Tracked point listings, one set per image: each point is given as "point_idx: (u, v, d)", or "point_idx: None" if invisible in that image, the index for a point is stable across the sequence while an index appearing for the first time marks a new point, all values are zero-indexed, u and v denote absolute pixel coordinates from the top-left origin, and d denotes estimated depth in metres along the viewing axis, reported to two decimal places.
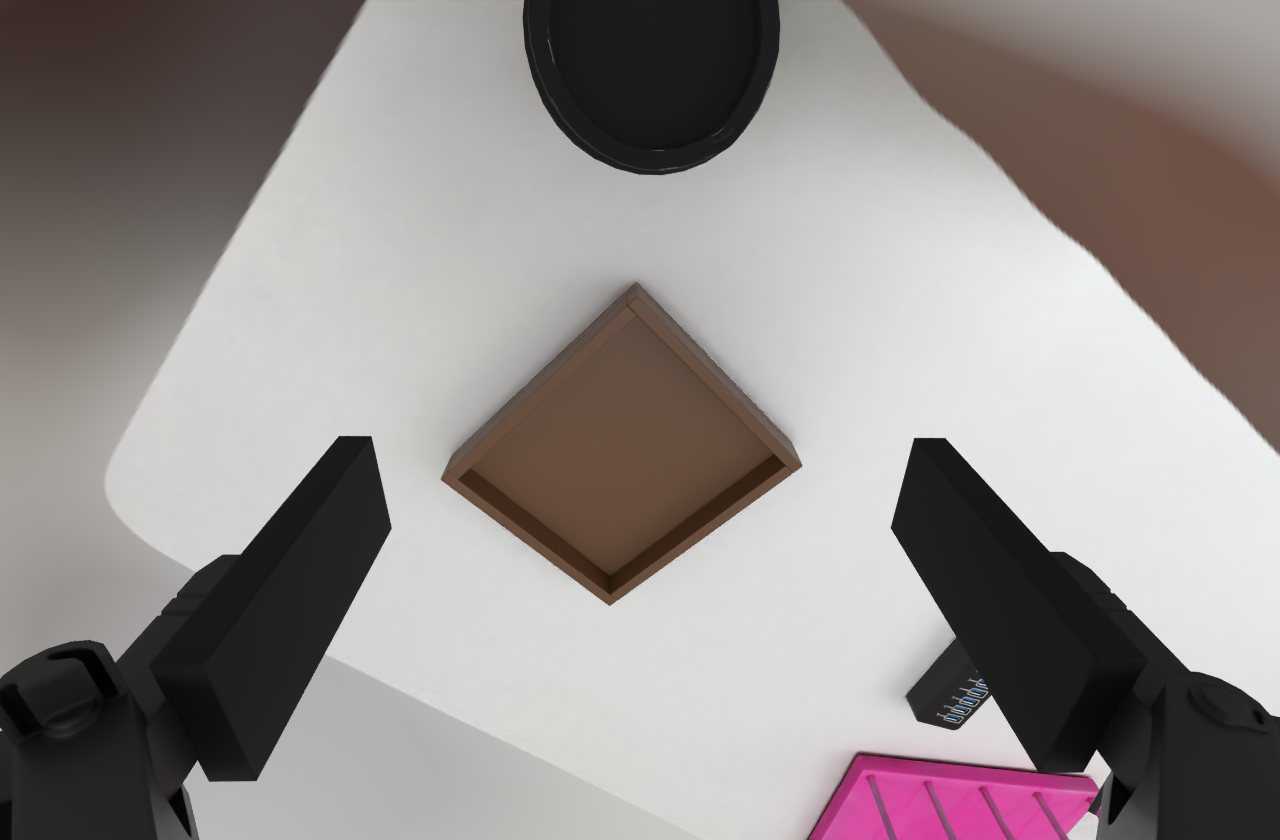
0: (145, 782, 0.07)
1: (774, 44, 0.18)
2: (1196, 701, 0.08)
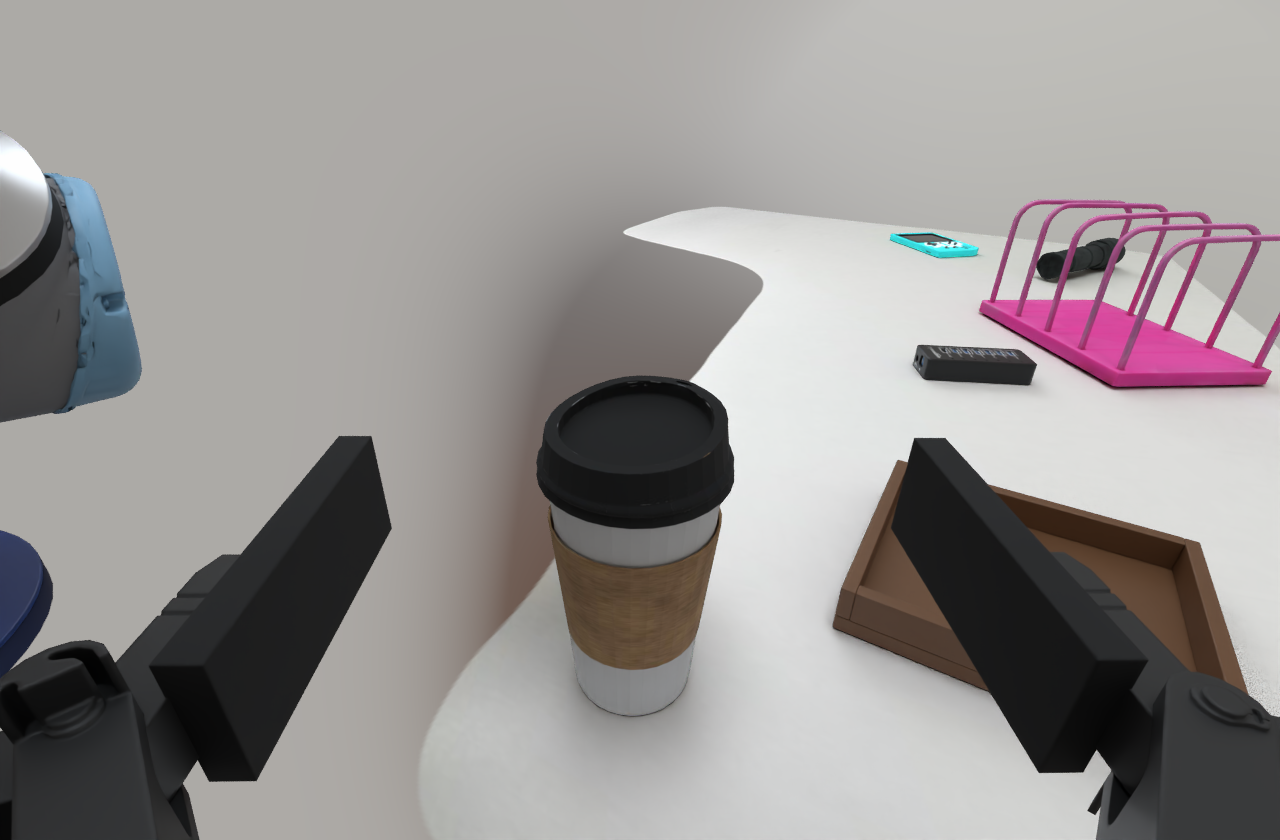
0: (145, 782, 0.07)
1: (622, 378, 0.28)
2: (1196, 702, 0.08)
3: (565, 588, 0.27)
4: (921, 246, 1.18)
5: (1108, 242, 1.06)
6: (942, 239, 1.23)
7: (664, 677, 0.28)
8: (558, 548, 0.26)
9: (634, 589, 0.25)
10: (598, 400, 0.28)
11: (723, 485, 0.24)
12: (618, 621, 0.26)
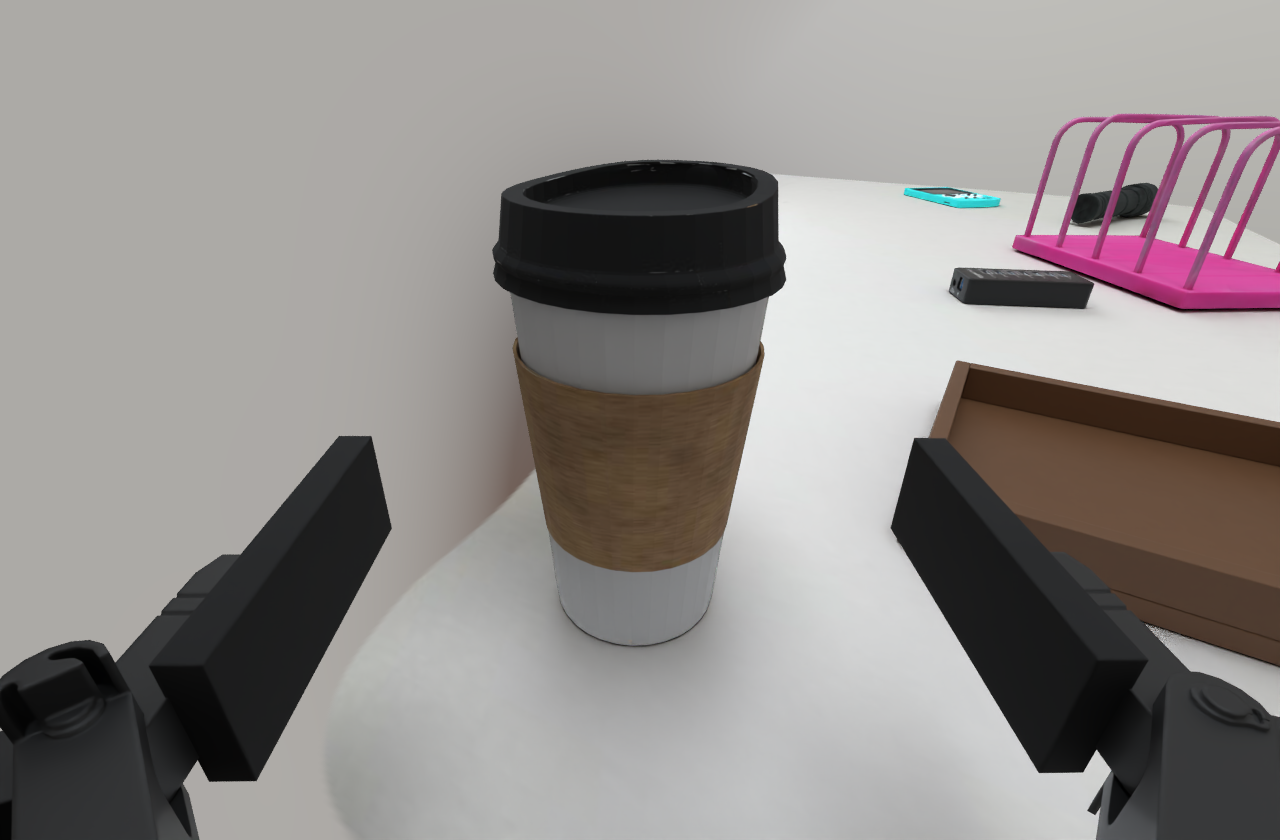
0: (145, 782, 0.07)
1: (619, 163, 0.20)
2: (1196, 702, 0.08)
3: (539, 452, 0.19)
4: (939, 197, 1.10)
5: (1143, 186, 0.98)
6: (960, 192, 1.15)
7: (681, 586, 0.20)
8: (526, 383, 0.17)
9: (640, 432, 0.16)
10: (585, 187, 0.19)
11: (774, 268, 0.16)
12: (615, 490, 0.17)
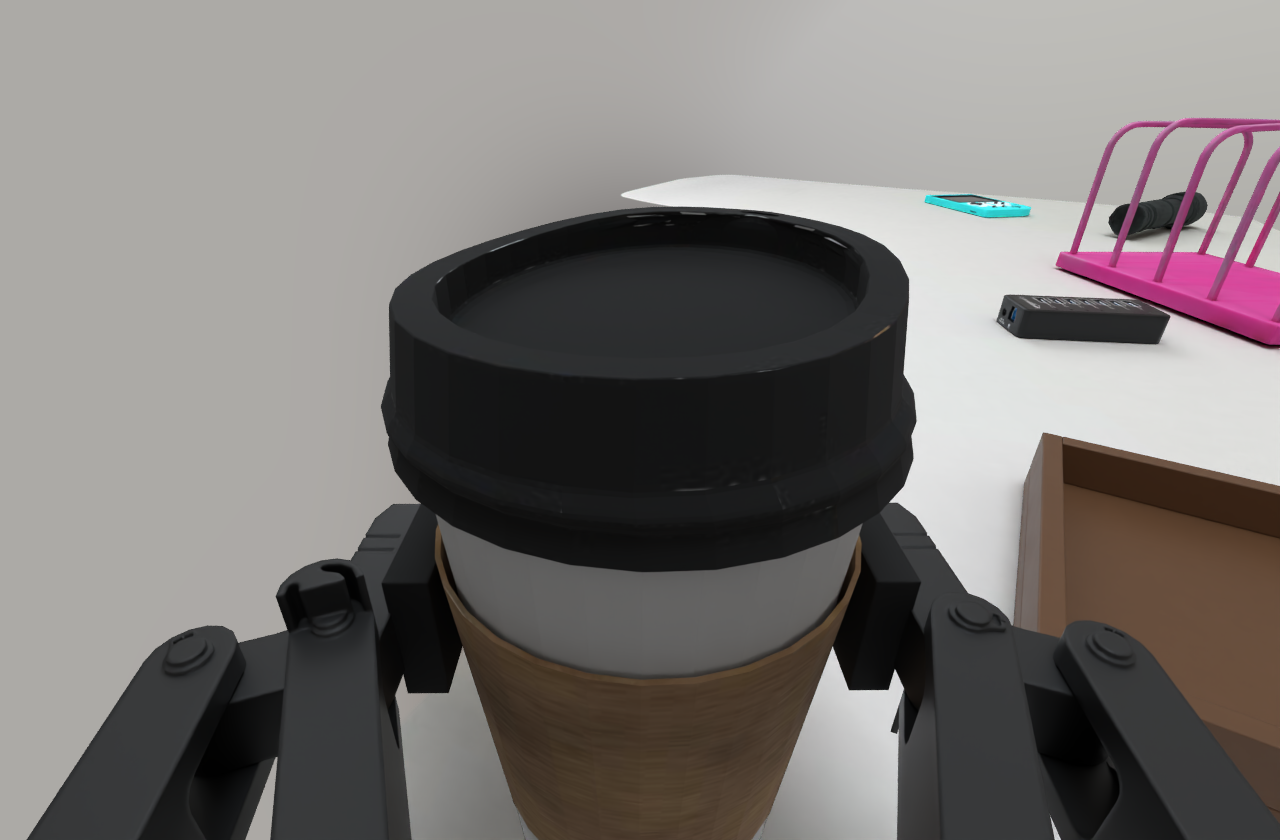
0: (377, 694, 0.08)
1: (615, 212, 0.12)
2: (953, 619, 0.10)
3: (481, 701, 0.11)
4: (964, 206, 1.02)
5: None
6: (986, 200, 1.07)
7: None
8: (452, 610, 0.10)
9: (651, 731, 0.09)
10: (559, 254, 0.12)
11: (909, 435, 0.08)
12: (609, 798, 0.10)
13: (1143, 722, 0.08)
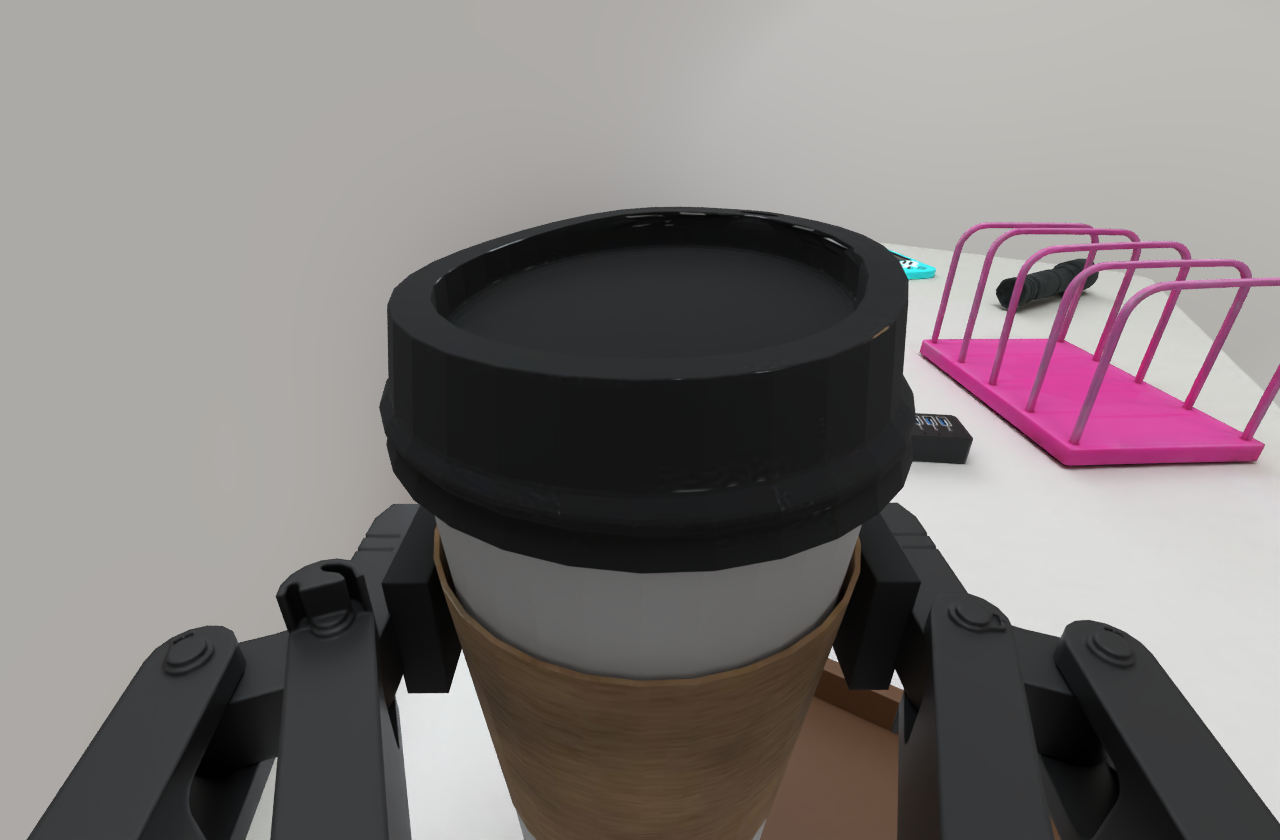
0: (377, 694, 0.08)
1: (614, 212, 0.12)
2: (953, 619, 0.10)
3: (480, 702, 0.11)
4: None
5: (1079, 264, 0.92)
6: (897, 257, 1.10)
7: None
8: (451, 611, 0.10)
9: (651, 733, 0.09)
10: (559, 254, 0.12)
11: (908, 436, 0.08)
12: (608, 799, 0.10)
13: (1143, 722, 0.08)
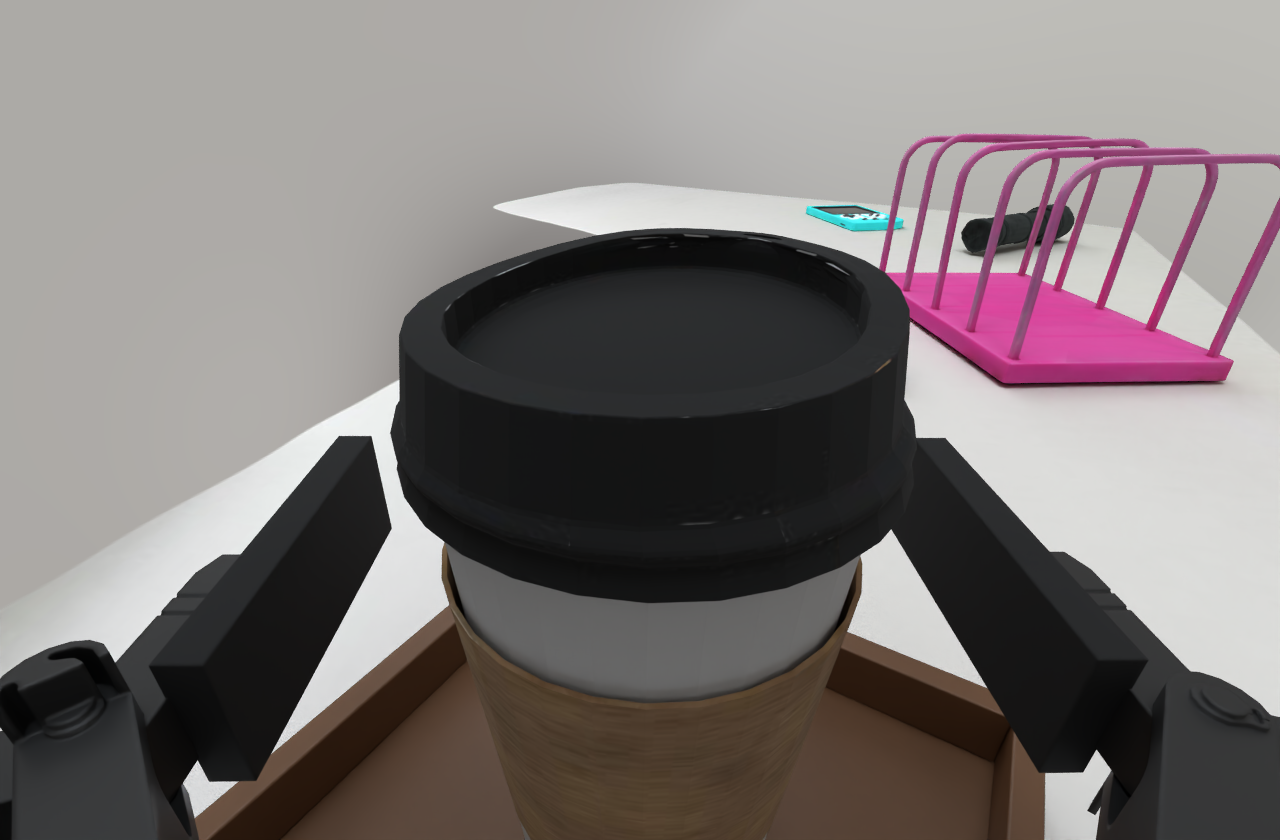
0: (145, 782, 0.07)
1: (619, 233, 0.13)
2: (1196, 702, 0.08)
3: (486, 717, 0.11)
4: (836, 218, 0.99)
5: (1052, 208, 0.86)
6: (865, 211, 1.03)
7: None
8: (458, 631, 0.10)
9: (656, 753, 0.09)
10: (565, 276, 0.12)
11: (909, 464, 0.08)
12: (613, 816, 0.10)
13: None
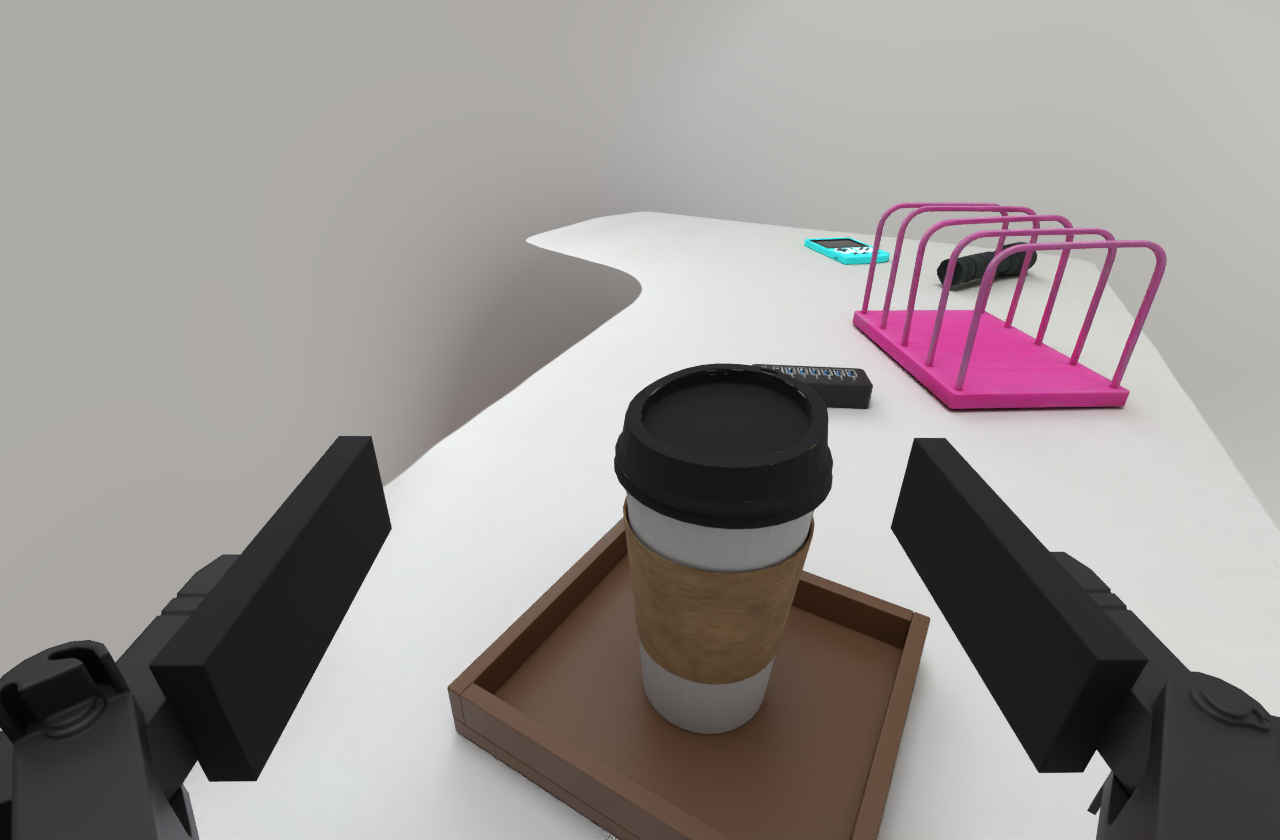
0: (145, 782, 0.07)
1: (699, 367, 0.26)
2: (1195, 702, 0.08)
3: (643, 595, 0.25)
4: (830, 252, 1.12)
5: None
6: (856, 244, 1.17)
7: (747, 691, 0.26)
8: (639, 551, 0.23)
9: (727, 596, 0.22)
10: (675, 389, 0.25)
11: (826, 480, 0.22)
12: (705, 631, 0.23)
13: None
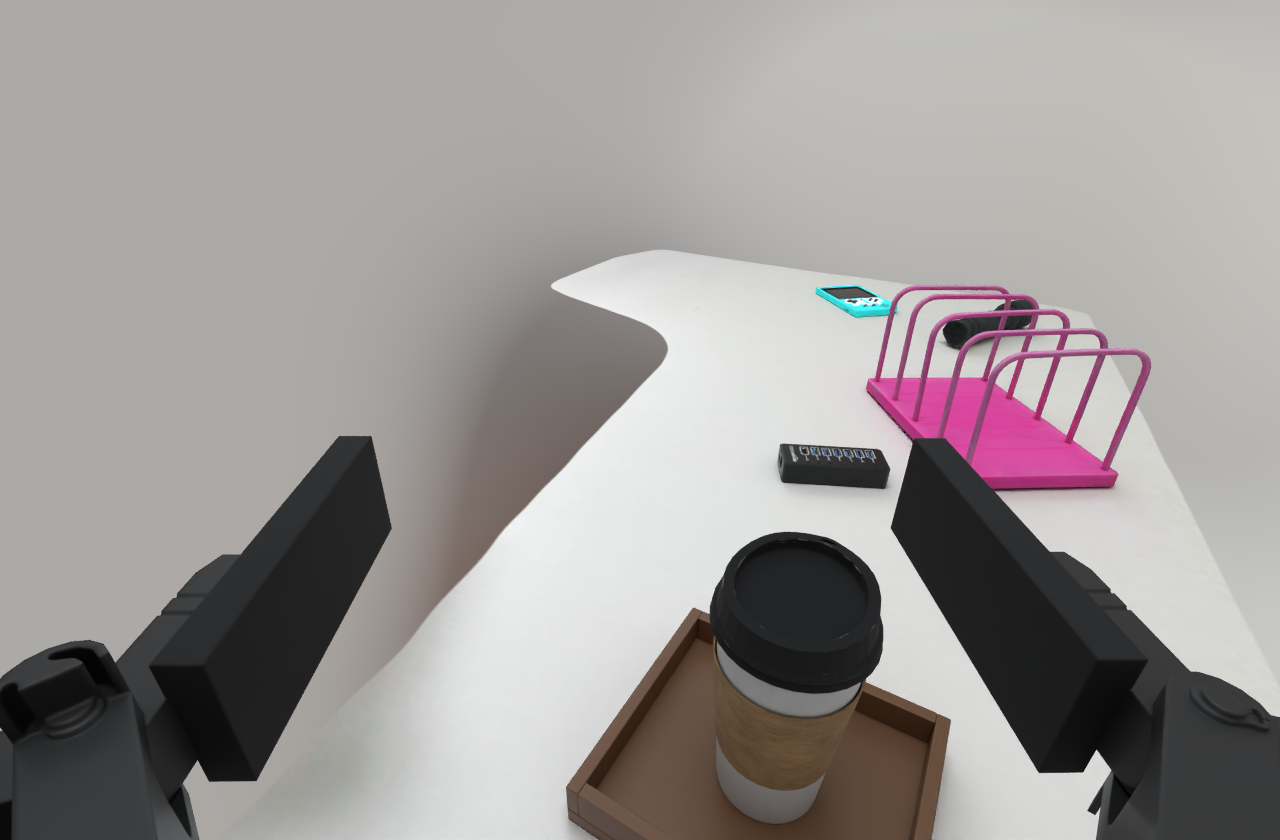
0: (145, 782, 0.07)
1: (772, 535, 0.33)
2: (1196, 702, 0.08)
3: (730, 722, 0.31)
4: (841, 303, 1.18)
5: (1017, 305, 1.06)
6: (865, 294, 1.23)
7: (808, 793, 0.33)
8: (730, 693, 0.30)
9: (802, 733, 0.29)
10: (754, 556, 0.32)
11: (880, 647, 0.28)
12: (782, 756, 0.30)
13: None
